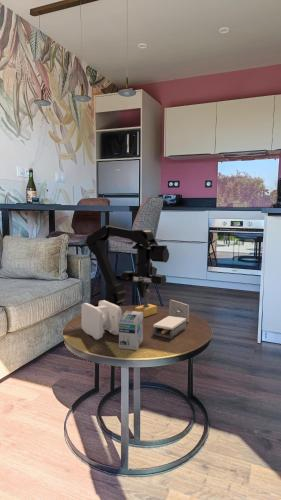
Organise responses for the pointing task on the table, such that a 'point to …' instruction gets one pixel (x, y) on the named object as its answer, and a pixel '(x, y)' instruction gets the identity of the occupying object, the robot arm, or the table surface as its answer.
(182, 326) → the cable duct
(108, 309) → the cable organizer
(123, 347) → the light bulb box
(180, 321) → the white rectangular panel
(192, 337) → the table surface
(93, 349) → the table surface
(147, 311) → the rubber stamp
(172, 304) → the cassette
